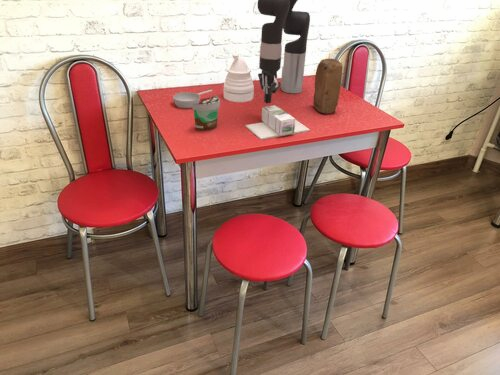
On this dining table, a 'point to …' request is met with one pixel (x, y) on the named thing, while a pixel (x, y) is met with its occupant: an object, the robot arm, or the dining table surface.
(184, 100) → the saucepan
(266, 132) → the mat
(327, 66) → the block
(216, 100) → the food container
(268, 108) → the syrup box
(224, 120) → the dining table surface
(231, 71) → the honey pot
